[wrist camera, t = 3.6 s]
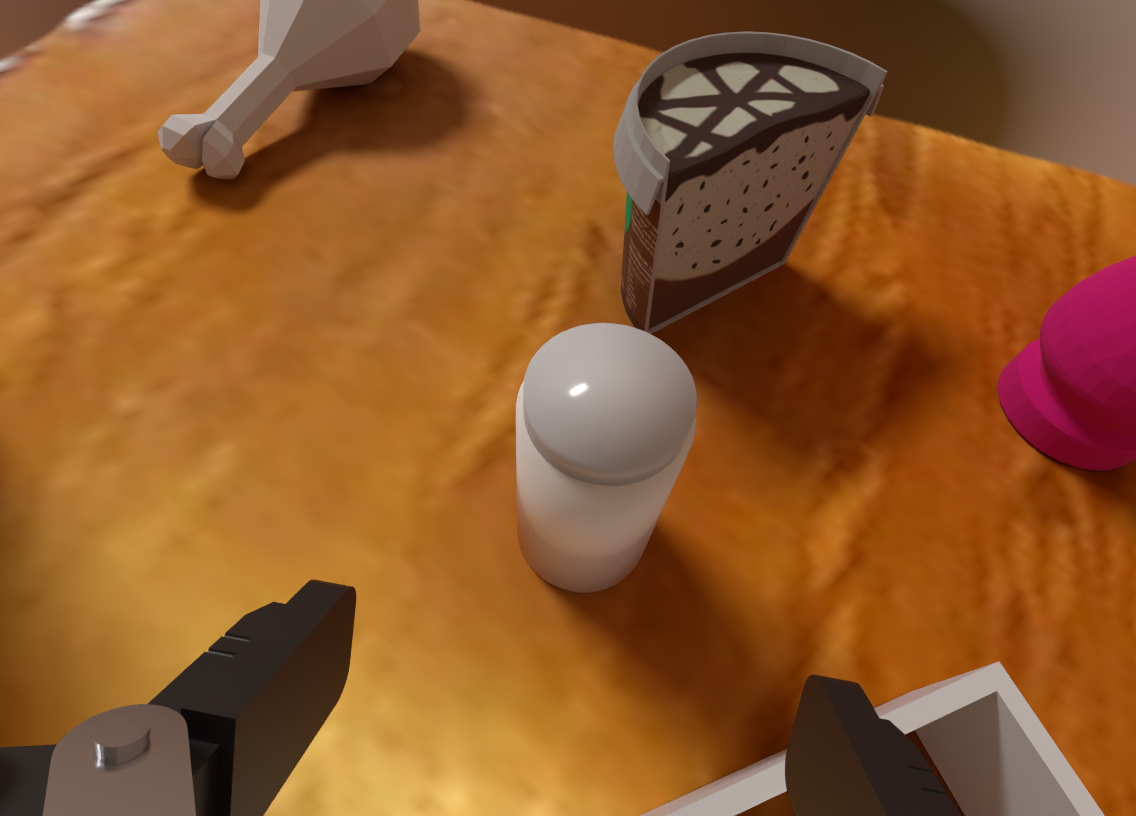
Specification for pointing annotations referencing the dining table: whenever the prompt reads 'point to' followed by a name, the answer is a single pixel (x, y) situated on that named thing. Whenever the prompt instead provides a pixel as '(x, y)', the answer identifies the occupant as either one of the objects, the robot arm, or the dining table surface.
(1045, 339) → the pepper mill
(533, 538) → the sugar shaker
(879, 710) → the grey square frame
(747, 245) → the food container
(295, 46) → the chicken leg
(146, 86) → the dining table surface
